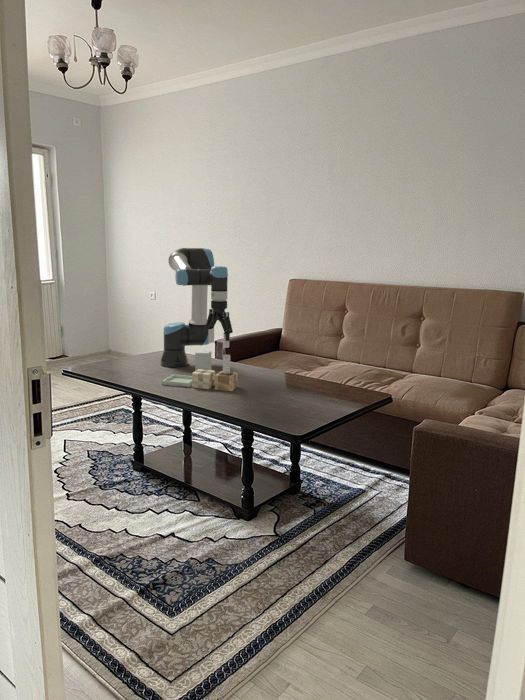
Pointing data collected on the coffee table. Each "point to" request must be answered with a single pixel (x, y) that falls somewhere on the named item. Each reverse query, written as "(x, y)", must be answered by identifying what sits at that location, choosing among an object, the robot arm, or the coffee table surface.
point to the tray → (178, 381)
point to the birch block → (203, 379)
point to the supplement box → (203, 360)
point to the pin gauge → (226, 365)
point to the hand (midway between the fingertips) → (218, 345)
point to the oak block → (226, 381)
